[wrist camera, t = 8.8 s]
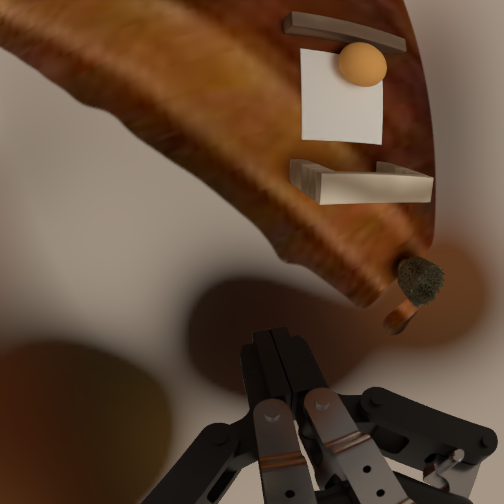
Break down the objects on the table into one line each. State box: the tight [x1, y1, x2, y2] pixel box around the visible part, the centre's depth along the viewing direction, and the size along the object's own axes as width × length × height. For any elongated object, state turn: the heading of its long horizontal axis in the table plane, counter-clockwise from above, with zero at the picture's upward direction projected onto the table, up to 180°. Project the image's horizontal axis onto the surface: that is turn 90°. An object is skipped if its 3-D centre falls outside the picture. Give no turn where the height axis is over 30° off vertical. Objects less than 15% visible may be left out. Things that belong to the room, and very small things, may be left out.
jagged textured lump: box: [396, 257, 444, 308], centre depth 41 cm, size 8×7×8 cm
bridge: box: [289, 159, 433, 205], centre depth 31 cm, size 3×15×10 cm, turn 91°
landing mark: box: [300, 49, 383, 145], centre depth 30 cm, size 12×12×1 cm
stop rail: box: [283, 11, 406, 55], centre depth 25 cm, size 2×16×4 cm, turn 91°
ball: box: [338, 42, 387, 87], centre depth 26 cm, size 6×6×6 cm
